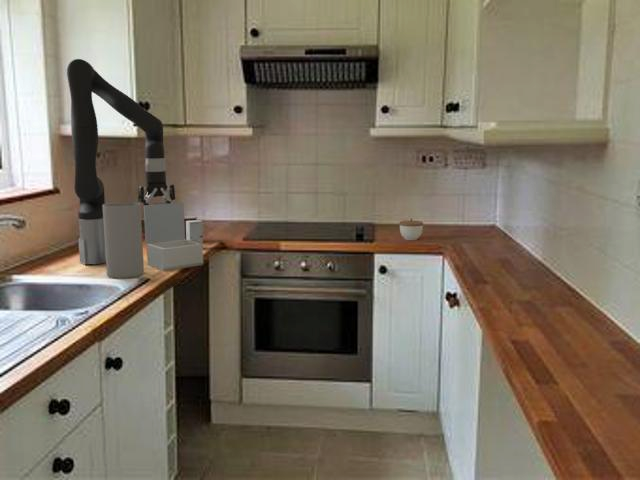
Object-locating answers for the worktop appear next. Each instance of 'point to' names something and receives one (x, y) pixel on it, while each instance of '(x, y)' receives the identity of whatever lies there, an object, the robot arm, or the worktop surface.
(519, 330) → the worktop surface
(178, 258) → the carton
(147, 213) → the grey plate
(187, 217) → the plastic cup
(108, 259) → the cylinder vase
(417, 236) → the lidded jar
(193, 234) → the skincare box
